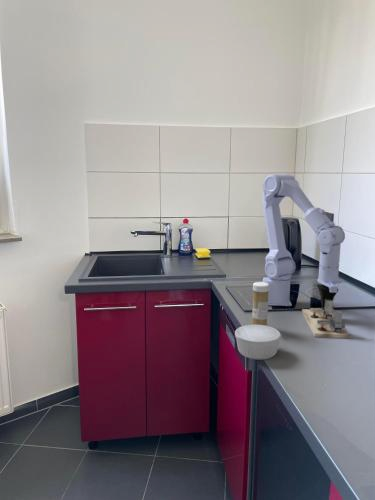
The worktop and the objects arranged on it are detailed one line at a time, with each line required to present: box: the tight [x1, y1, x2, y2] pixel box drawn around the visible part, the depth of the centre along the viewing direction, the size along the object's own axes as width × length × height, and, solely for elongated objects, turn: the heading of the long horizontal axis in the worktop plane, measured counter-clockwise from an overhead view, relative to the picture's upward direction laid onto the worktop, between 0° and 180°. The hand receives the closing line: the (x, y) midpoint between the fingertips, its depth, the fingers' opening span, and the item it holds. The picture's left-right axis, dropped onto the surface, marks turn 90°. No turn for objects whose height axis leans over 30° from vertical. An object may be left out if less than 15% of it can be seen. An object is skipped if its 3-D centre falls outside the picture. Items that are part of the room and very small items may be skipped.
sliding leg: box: [309, 299, 335, 318], centre depth 120 cm, size 7×3×5 cm, turn 84°
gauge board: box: [301, 308, 350, 339], centre depth 118 cm, size 9×20×2 cm, turn 174°
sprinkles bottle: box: [251, 281, 269, 326], centre depth 114 cm, size 5×5×14 cm
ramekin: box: [234, 324, 282, 361], centre depth 99 cm, size 11×11×5 cm
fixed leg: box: [317, 309, 346, 331], centre depth 110 cm, size 7×3×5 cm, turn 84°
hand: (326, 308), depth 123 cm, fingers closed
